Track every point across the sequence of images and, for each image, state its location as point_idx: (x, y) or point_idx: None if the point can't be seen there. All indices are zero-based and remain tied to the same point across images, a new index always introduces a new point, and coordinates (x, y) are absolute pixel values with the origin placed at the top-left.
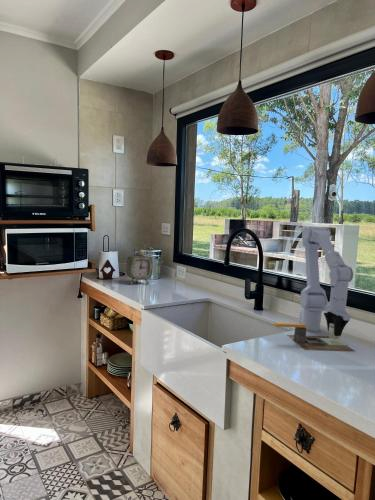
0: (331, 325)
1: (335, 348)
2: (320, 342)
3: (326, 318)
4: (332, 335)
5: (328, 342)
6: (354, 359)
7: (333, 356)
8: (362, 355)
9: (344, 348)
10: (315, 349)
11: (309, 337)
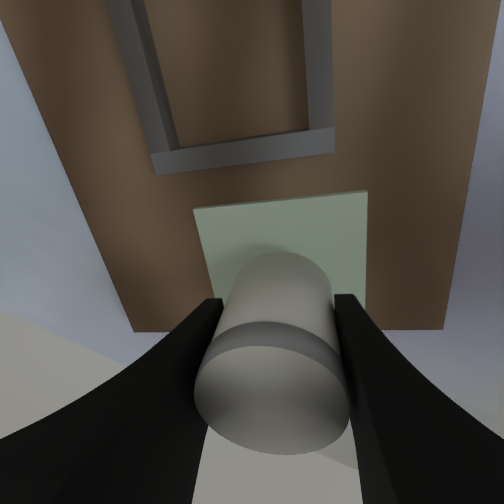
0: (231, 350)
1: (132, 225)
2: (156, 116)
3: (425, 416)
4: (236, 284)
5: (245, 223)
6: (48, 274)
7: (27, 158)
8: (137, 344)
9: (160, 290)
10: (14, 5)
11: (304, 24)
